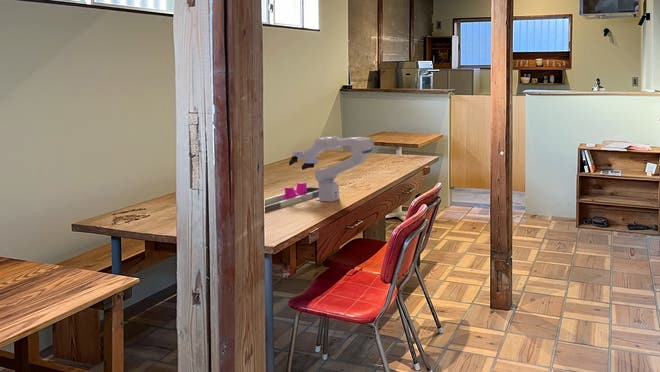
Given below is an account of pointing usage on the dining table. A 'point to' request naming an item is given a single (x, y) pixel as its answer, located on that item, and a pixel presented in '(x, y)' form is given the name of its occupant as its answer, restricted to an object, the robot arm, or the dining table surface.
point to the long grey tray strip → (311, 193)
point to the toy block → (295, 190)
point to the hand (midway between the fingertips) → (295, 166)
